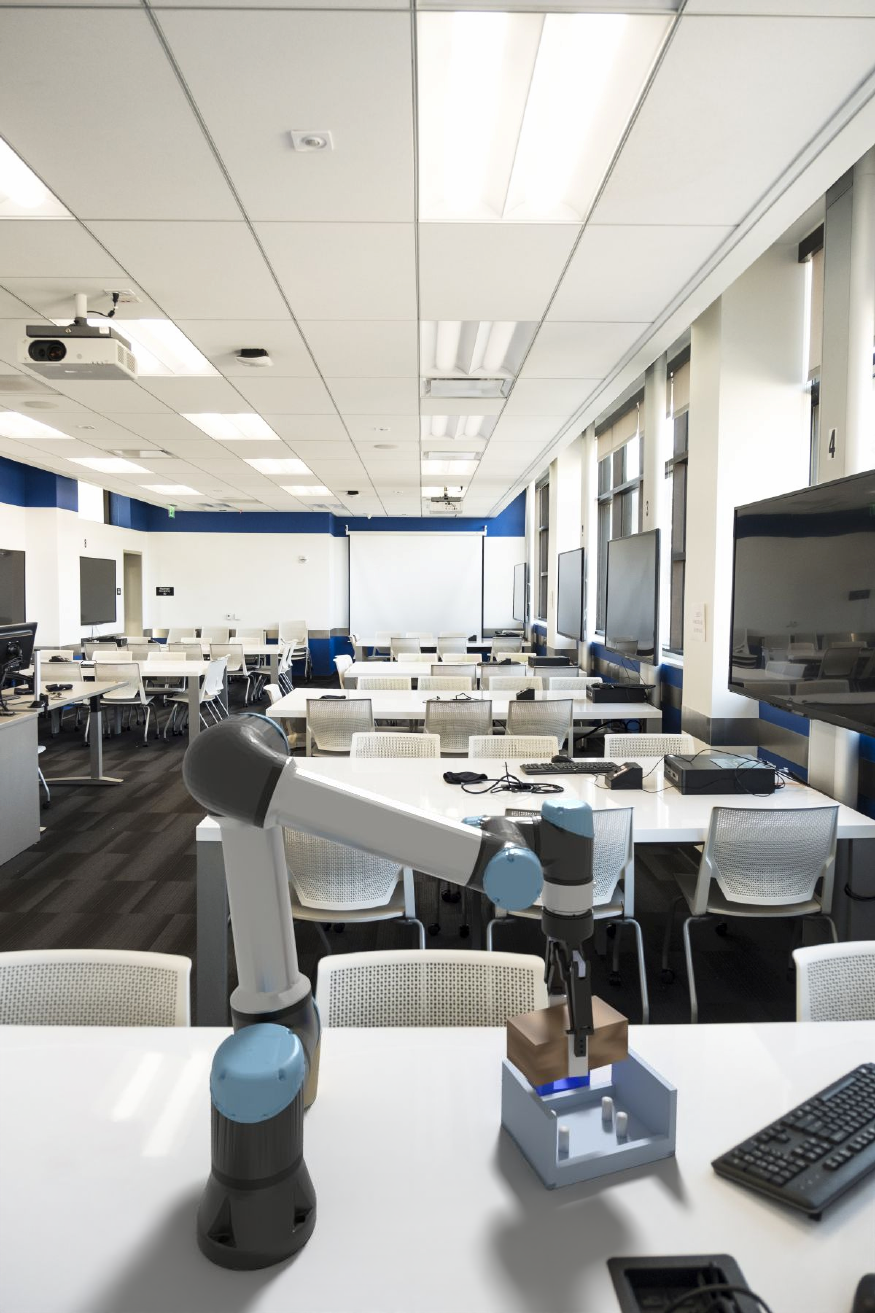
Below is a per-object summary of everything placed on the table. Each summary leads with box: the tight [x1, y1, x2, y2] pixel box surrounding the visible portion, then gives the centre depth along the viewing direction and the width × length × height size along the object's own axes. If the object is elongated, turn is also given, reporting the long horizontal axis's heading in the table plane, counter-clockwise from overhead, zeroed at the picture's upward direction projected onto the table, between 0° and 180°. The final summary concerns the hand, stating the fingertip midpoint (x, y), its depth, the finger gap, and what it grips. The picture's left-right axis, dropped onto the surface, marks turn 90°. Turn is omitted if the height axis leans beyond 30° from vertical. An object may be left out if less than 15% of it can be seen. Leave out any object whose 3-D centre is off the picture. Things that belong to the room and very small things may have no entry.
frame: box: [500, 1045, 678, 1191], centre depth 117 cm, size 21×15×10 cm
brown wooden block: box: [506, 995, 629, 1087], centre depth 114 cm, size 16×8×6 cm, turn 115°
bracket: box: [532, 1070, 591, 1097], centre depth 136 cm, size 18×8×9 cm, turn 10°
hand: (567, 1055), depth 115 cm, fingers closed on brown wooden block, 9 cm apart
